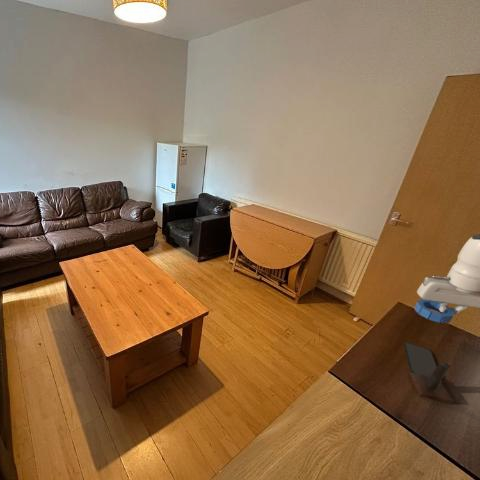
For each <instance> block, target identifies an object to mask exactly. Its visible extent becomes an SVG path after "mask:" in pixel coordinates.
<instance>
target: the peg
mask: <svg viewBox="0 0 480 480" xmlns="http://www.w3.org/2000/svg"><path fill="white" fill-rule="evenodd" d="M450 369H451V365H450V364H449V363H448V362H445V361H442V360H441V361H440V362H439V363H438V364H437V367H436V369H435V370H434V372H433V373H432V375H431V376H430V377H428V376H424V375H420V374H416V373H411V371H409V372H408V374H407V377H408V378H409V380H410V382H411V383H412V386H413V387H414V389H415V390H416V392H417V394H418V396H419V397H421V398H425V399H429V400H433V401H436V402H441V403H444V404H448V405H452V404H453V403H454V402H455V400H454V399H453V398H452V396H451V395H450V393H449V392H448V390H447V389H446V388H445V386H444V384H442V383H441V382H440V381H441V380H442V381H443V378H444V377H445V375H446V374H447V373H448V371H449V370H450Z"/></svg>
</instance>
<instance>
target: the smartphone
mask: <svg viewBox="0 0 480 480" xmlns="http://www.w3.org/2000/svg"><path fill="white" fill-rule="evenodd" d="M403 348H404V352H405V356H406V359H407V365H408V367H409V370H410V371H409V372H411V373H416V374H420V375H424V376H428V377H430V376H431V375H432V373H433V372H434V370H435V369H436V367H437V366H438V364H437V362H436V360H435V357H434V354H433V352H432V350H430V349H429V348H425V347H423V346H419V345H416V344H413V343H410V342H403ZM440 382H441V383H442V385H444V381H443V379H442V380H441V381H440Z"/></svg>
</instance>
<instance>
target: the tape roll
mask: <svg viewBox="0 0 480 480" xmlns="http://www.w3.org/2000/svg"><path fill="white" fill-rule="evenodd" d="M445 306H446V307H447V308H448V309H449V311H448V312H447V313H444V312H441V311H440V310H439V308H440V303H439V302H437V301H431V300H424V299H422V298H420V299H418V301H417V302H416V304H415V306H414V311H415V312H416V313H417V314H418V315H419V316H421V317H423V318H425V319H426V320H429V321H432V322H436V323H440V324H449V323H450V322H451V321H452V319H453V318H454V316H455V315H456V314H455V312H454V311H453V310H452V309H451V307H449V306H448V305H445Z"/></svg>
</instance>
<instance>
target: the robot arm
mask: <svg viewBox="0 0 480 480" xmlns="http://www.w3.org/2000/svg"><path fill="white" fill-rule="evenodd" d="M416 294H417V295H418V296H419V298H420V299H424V300H431V301H437V302H439V303H440V308H439V310H440V311H441V312H444V313H447V312H448V311H449V309H448V308H447V307H446V306H448V305H449V304H452V305H456V306H454V307H450V308H451V309H452V310H453V311H454V312H455V314H454V315H457V316H459V313H461V312H462V311H465V310H466V309H468V308H469V307H472V308H478V309H480V233H479V234H474V235H473V236H471V237H470V238H468V240H466V242H465V243H464V245H463V246H462V248H461V249H460V250H459V253H458V254H457V260H456V262H455V263H454V264H453V265H452V266H451V268H450V270H449V271H448V273H447V275H446V276H442V275H441V276H439V275H430V276H429V275H428V276H426V277H424V279H423V281H422V283H421V284H420V285H419V287H418V289H417V290H416ZM445 305H446V306H445Z"/></svg>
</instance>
